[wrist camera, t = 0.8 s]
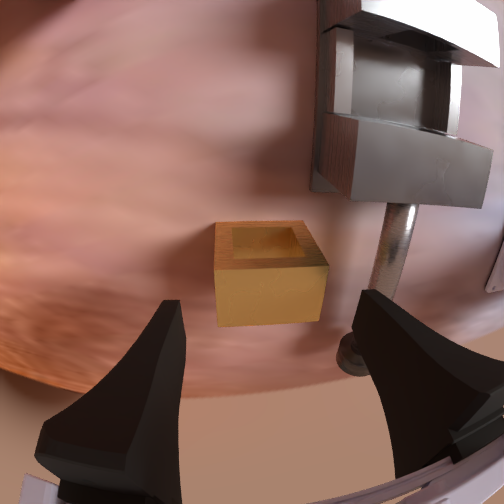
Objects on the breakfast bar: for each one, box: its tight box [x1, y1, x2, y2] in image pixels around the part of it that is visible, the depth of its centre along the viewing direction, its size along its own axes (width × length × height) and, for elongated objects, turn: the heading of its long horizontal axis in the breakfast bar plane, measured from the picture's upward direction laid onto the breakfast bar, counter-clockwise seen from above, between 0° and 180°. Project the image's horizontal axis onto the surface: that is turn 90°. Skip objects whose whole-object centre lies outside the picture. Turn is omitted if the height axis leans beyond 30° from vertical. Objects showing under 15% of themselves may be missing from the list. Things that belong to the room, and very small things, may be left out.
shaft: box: [336, 202, 419, 377], centre depth 15 cm, size 14×3×3 cm, turn 0°
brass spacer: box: [214, 220, 329, 327], centre depth 14 cm, size 3×5×5 cm, turn 90°
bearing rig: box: [310, 0, 500, 209], centre depth 10 cm, size 12×8×5 cm, turn 0°
